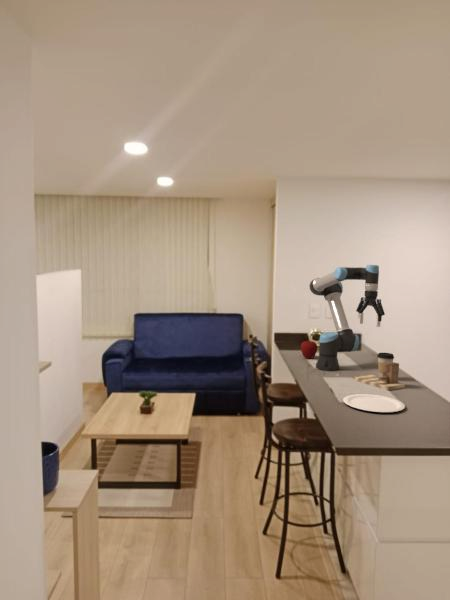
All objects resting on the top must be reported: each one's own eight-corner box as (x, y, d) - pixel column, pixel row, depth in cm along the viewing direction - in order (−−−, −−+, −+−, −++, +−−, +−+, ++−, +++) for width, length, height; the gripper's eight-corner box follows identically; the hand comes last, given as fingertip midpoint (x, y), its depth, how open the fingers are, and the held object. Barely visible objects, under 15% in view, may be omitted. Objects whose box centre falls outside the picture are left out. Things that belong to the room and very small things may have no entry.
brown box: (375, 382, 271) (376, 363, 270) (389, 380, 277) (390, 361, 276) (383, 385, 266) (384, 365, 265) (398, 382, 272) (399, 363, 271)
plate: (397, 419, 215) (397, 415, 215) (334, 407, 231) (335, 404, 230) (410, 403, 240) (410, 400, 240) (353, 393, 255) (353, 390, 255)
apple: (319, 358, 345) (320, 339, 344) (313, 360, 335) (314, 341, 334) (303, 355, 351) (304, 337, 350) (297, 358, 342) (298, 340, 340)
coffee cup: (394, 381, 284) (395, 356, 282) (376, 379, 285) (378, 355, 284) (391, 377, 293) (393, 353, 292) (375, 375, 295) (376, 351, 294)
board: (352, 379, 284) (352, 376, 284) (369, 377, 291) (369, 373, 291) (388, 390, 262) (388, 386, 262) (404, 387, 269) (405, 383, 269)
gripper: (351, 289, 298) (349, 322, 300) (383, 292, 277) (381, 328, 279) (360, 288, 302) (358, 322, 304) (392, 291, 281) (390, 327, 283)
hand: (369, 325), depth 292 cm, fingers open, 13 cm apart
